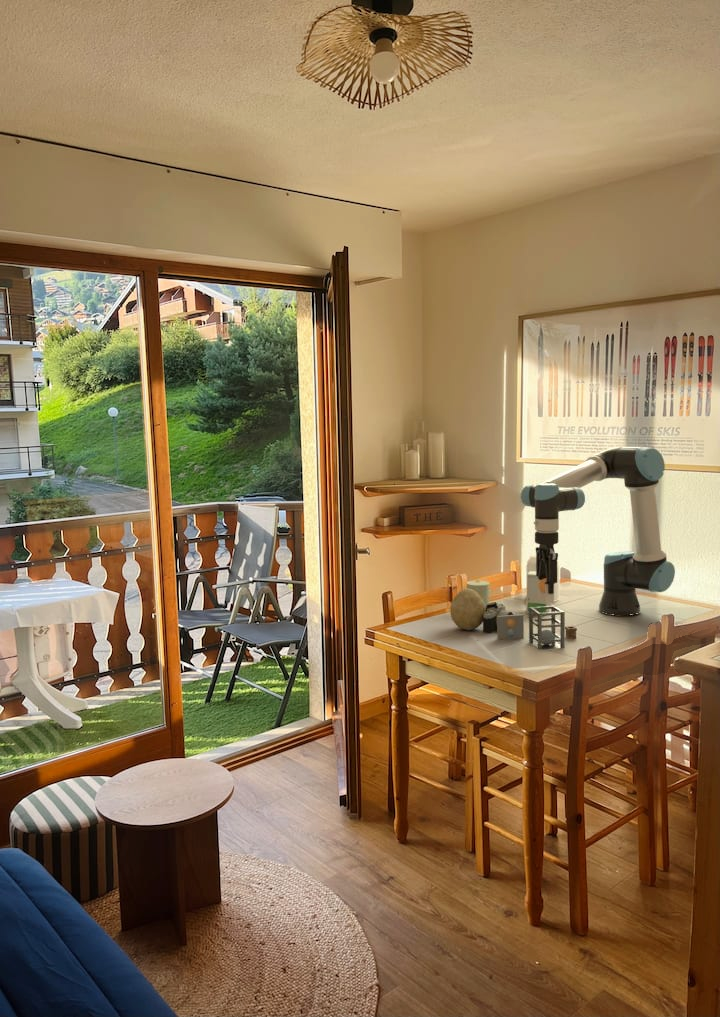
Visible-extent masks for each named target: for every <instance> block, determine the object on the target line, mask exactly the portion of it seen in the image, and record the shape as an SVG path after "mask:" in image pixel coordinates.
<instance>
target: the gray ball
mask: <svg viewBox="0 0 720 1017" xmlns="http://www.w3.org/2000/svg"><path fill="white" fill-rule="evenodd" d="M547 639H554V634H553V633H552V632H551V630H548V629H542V640H547ZM552 643H553V642H548V643H542V644H544V645H550V644H552Z"/></svg>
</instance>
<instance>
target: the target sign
mask: <svg viewBox="0 0 720 1017" xmlns="http://www.w3.org/2000/svg"><path fill="white" fill-rule="evenodd" d="M524 616H525V615H524V614H521V613H520V614H513V615H505V616H497V631H496V632H497V636H496V639H497V640H498V641H512V640H513V641H514V640H525V637H524V636H525V635H524V633H525V632H524V631H525V630H524V623H525V622H524Z"/></svg>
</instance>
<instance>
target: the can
mask: <svg viewBox="0 0 720 1017" xmlns="http://www.w3.org/2000/svg"><path fill="white" fill-rule="evenodd" d="M490 583H491V582H490V581H487V580H469V581H467V582H466V589H472V590H474V591H476V592H477V593H478V594H479V595H480V596H481V598H482V599H483V601H484V604H485V607H486V606H487V604H489V603H490V602H491V596H490V595H491V591H490V590H491V587H490V585H491V584H490Z"/></svg>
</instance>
